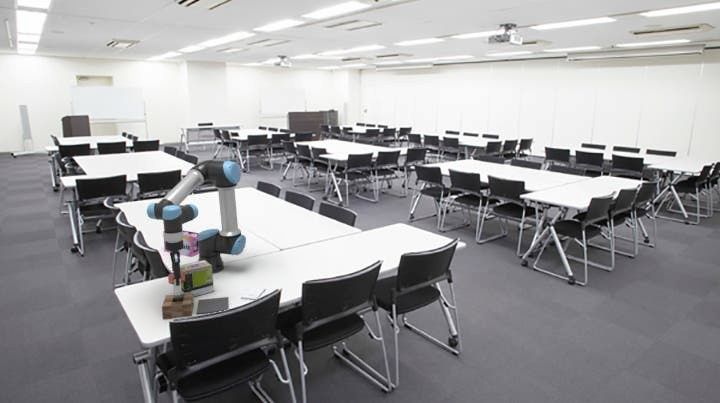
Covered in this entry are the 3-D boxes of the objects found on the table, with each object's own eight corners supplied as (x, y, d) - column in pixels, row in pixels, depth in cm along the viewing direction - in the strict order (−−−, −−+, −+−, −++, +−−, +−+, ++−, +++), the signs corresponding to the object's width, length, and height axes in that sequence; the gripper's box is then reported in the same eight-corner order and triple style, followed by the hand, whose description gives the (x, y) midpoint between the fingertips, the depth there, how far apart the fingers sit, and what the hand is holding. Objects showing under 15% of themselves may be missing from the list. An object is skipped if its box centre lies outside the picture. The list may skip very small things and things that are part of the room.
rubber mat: (198, 301, 207) (198, 299, 207) (228, 298, 211) (228, 296, 211) (196, 314, 194) (196, 313, 194) (228, 311, 198) (228, 309, 198)
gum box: (202, 253, 271) (201, 233, 268) (193, 257, 264) (191, 236, 261) (173, 247, 280) (172, 228, 277) (164, 251, 273) (162, 231, 270)
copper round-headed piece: (185, 300, 200) (183, 271, 197) (187, 307, 194) (185, 276, 191) (169, 303, 197) (167, 273, 194) (171, 310, 191) (168, 279, 188)
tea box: (206, 285, 225) (205, 259, 222) (214, 291, 218) (212, 264, 214) (177, 292, 215) (175, 265, 212) (184, 299, 208) (182, 271, 205)
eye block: (166, 307, 200) (165, 295, 199) (193, 304, 203) (193, 292, 202) (162, 319, 189) (161, 306, 187) (191, 316, 192) (190, 304, 191)
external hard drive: (265, 291, 222) (256, 301, 210) (250, 289, 223) (240, 299, 211) (265, 288, 222) (256, 298, 210) (250, 286, 223) (240, 296, 211)
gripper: (163, 235, 195) (166, 281, 200) (166, 248, 178) (170, 298, 183) (180, 233, 199) (183, 278, 204) (185, 246, 182) (188, 295, 187)
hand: (177, 288), depth 194 cm, fingers closed on copper round-headed piece, 7 cm apart
